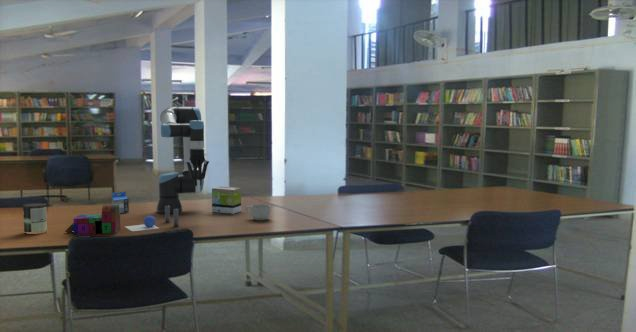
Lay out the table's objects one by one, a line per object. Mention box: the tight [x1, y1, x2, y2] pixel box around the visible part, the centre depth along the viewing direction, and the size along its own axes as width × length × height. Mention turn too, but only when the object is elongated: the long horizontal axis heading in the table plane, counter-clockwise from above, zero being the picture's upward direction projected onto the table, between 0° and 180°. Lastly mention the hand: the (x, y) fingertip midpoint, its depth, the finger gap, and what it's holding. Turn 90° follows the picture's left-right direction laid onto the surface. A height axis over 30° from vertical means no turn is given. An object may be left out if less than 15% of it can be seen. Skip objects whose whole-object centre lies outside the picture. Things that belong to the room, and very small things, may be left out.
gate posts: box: [164, 206, 180, 228], centre depth 294 cm, size 16×3×9 cm, turn 35°
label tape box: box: [111, 191, 130, 214], centre depth 328 cm, size 9×4×12 cm, turn 131°
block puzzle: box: [65, 203, 121, 235], centre depth 276 cm, size 25×17×14 cm
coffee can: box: [22, 202, 48, 232], centre depth 272 cm, size 10×10×14 cm
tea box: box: [211, 186, 242, 215], centre depth 333 cm, size 15×10×15 cm
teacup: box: [244, 203, 271, 222], centre depth 309 cm, size 14×11×8 cm
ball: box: [143, 215, 156, 227], centre depth 287 cm, size 6×6×6 cm
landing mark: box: [124, 223, 160, 232], centre depth 285 cm, size 14×14×1 cm
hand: (197, 191), depth 301 cm, fingers closed
